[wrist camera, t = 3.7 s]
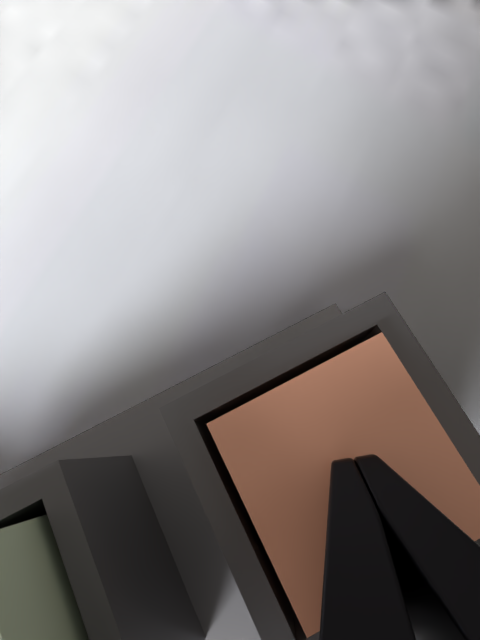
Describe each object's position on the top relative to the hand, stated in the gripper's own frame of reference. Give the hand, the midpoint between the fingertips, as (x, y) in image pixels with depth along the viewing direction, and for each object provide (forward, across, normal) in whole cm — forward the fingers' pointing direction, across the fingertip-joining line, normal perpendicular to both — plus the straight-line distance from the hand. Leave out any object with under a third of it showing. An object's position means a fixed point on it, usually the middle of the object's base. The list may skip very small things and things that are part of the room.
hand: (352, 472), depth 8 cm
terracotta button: (+4, 0, +4) cm, 5 cm away
